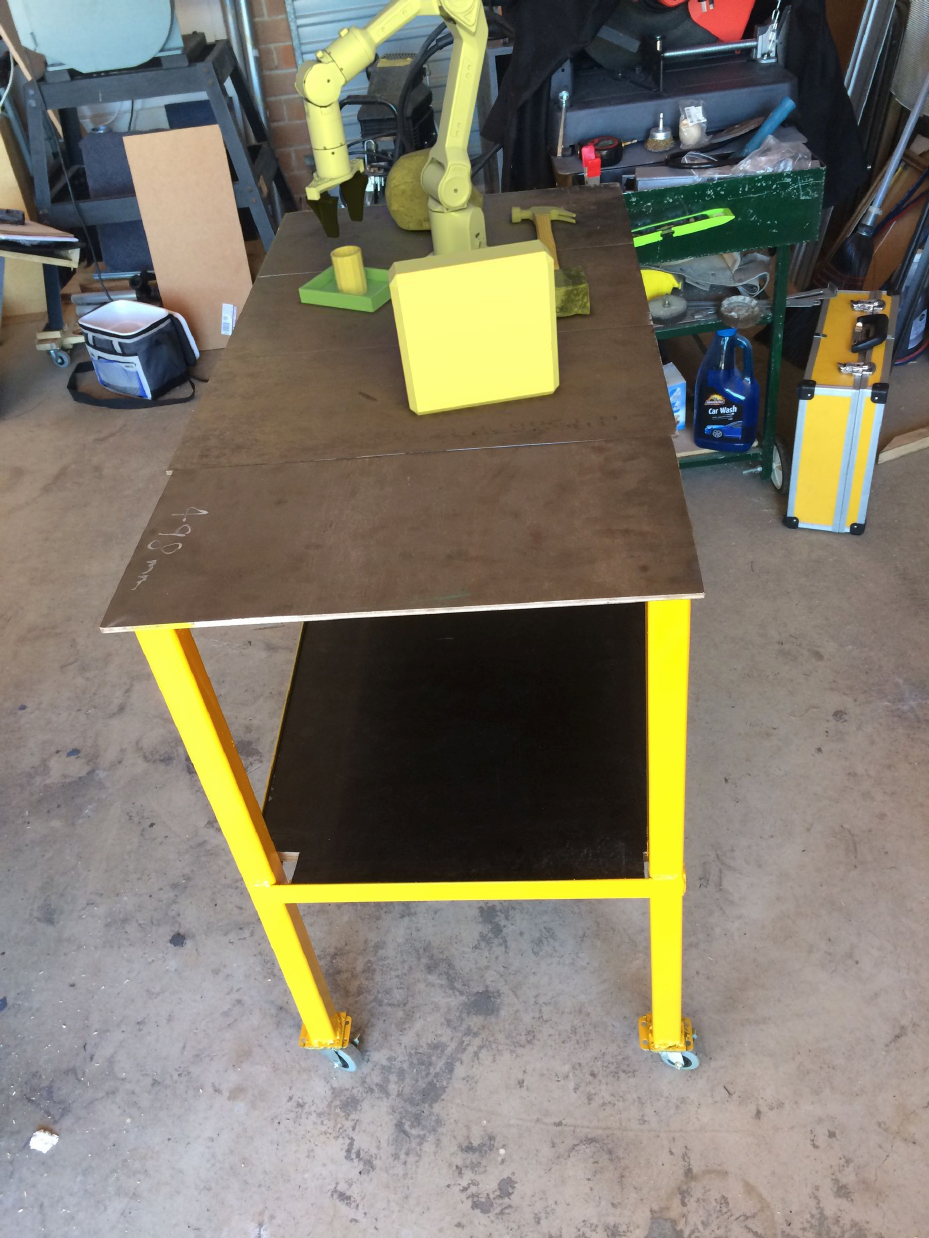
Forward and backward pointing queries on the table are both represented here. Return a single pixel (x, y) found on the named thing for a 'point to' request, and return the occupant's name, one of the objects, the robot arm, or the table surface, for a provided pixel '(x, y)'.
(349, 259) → the cup
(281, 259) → the table surface
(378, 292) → the tray
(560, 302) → the stone block
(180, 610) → the table surface
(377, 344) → the table surface
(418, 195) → the stone
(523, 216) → the hammer
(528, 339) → the yellow beveled square tile
